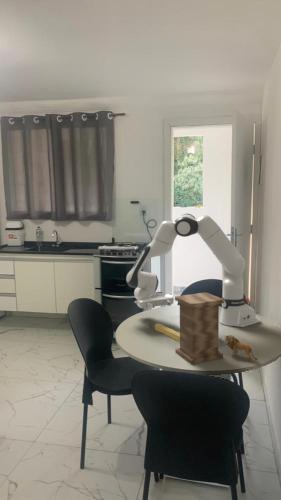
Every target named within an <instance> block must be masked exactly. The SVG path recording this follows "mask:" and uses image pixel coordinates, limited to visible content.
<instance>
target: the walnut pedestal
mask: <svg viewBox="0 0 281 500" xmlns="http://www.w3.org/2000/svg"><path fill="white" fill-rule="evenodd" d="M174 300H175V301H176V302H178V303H179V333H180V342H179V348H175V349H174V351H175V354H177V355H178V356H180V357H181V358H182V359H184V361H186V362H187V363H189V364H190V365H195V364H199V363H204V362H208V361H214V360H217V359H223V358H224V354H223V352H221V351H219V331H220V329H219V328H220V327H219V326H220V325H219V323H220V322H219V320H220V317H219V316H220V315H219V314H220V313H219V311H220V310H219V309H220V307H219V305H220V304H221V305H222V303H224V299H222V297H219V296H216V295H213V294H211V293H208V292H206V291H205V292H204V291H203V292H198V293H190V294H183V295H176V296H174Z"/></svg>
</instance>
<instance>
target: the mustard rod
mask: <svg viewBox="0 0 281 500" xmlns="http://www.w3.org/2000/svg"><path fill="white" fill-rule="evenodd" d="M154 330H155V331H157V332H159V333H162V334H163V335H165V336H167V337H169V338H172V339H174V340H176V341H177V342H179V343H180V331H179V332H178V331H176V330H174V329H172V328H169V327H168V326H166V325H163V324H161V323H156V324H154Z"/></svg>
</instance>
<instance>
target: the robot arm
mask: <svg viewBox="0 0 281 500" xmlns="http://www.w3.org/2000/svg"><path fill="white" fill-rule="evenodd" d="M196 234H197V235H199V237H201V239H202V240H203V242H204V243H205V244H206V246H207V247H208V248H209V249H210V251H211V252H212V254H213V255H214V256H215V257H216V259H217V260H218V262H219V263H220V264H221V274H222V275H221V276H222V296H221V299H224V303H222V304H221V311H220V312H221V314H220V317H219V323H220V324H221V325H225V326H230V327H238V328H239V327H240V328H244V327H248V326H251V325H255V324H258V323H260V322H261V320H260V318H259V317H257V314H256V310H255V309H254V308H253V307H251V306H250V305H248V304H247V303H249V302H250V298H249V297H244V278H243V277H244V274H243V272H244V271H245V269H246V260H245V259H244V257H243V256H242V255H241V253H240V252H239V251H238V249H237V248H236V247H235V245H234V244H233V243H232V241H231V240H230V238H228V236H227V235H226V234H225V232H224V231H223V230H222V228H221V227H220V225H219V224H217V221H215V220H214V219H213V218H211V216H209V215H207V214H206V215H202V216H200V217H198V218H196V217H195V216H194V215H193V214H191V213H184V214H181V215H180V216H179V217H177V218H176V219H175V220H174V221H171V220H163V221H162V222H161V223H160V225H159V226H158V229H157V230H156V232H155V235H154V237H153V239H152V240H151V242H150V243H148V244H147V245H145V246H144V247H143V248H142V250H141V251H140V254H139V255H138V256H137V258H136V260H135V262H134V263H133V265H132V267H131V268H130V270H129V271H128V272H127V274H126V278H125V282H126V283H127V285H128V287H130V288H135V289H134V291H133V295H134V297H135V300H134V304H136V305H137V307H138V308H140V309H147V308H151V309H155V307H160V306H161V307H162V306H167V307H169V306H172V305H173V304H174V303H175V302H174V300H175V298H174V297H173V296H172V295H170V294H169V293H166V292H165V291H157V290H158V287H159V279H158V278H159V277H158V276H157V274H155V273H152V272H148V271H144V270H143V268H144V266H145V264H146V263H147V262H148V260H150V259H153V258H155V257H162V256H165V255H168V253H170V251H171V250H172V248H173V245H174V242H175V240H176V238H177V237H178V236H180V237H182V238H185V237H189V236H192V235H196ZM142 270H143V271H142ZM246 302H247V303H246Z"/></svg>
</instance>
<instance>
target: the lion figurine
mask: <svg viewBox="0 0 281 500" xmlns="http://www.w3.org/2000/svg"><path fill="white" fill-rule="evenodd" d="M224 344H225V345H226V346H227V347H228V348H229V349H232V353H233V354H232V355H231V357H234V358H235V357H236V356H237V354H238V352H244V353H245V354H246V358H247V359H248V362H253V361H252V360H253V359H254V360H255V361H258V358H257V357H255V355H254V353H253V349H252V346H251V345H250V344H249V343H243V342H241V341H239V339H237V338H236V337H235V336H234V335H231V334H227V335H225V339H224Z"/></svg>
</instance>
